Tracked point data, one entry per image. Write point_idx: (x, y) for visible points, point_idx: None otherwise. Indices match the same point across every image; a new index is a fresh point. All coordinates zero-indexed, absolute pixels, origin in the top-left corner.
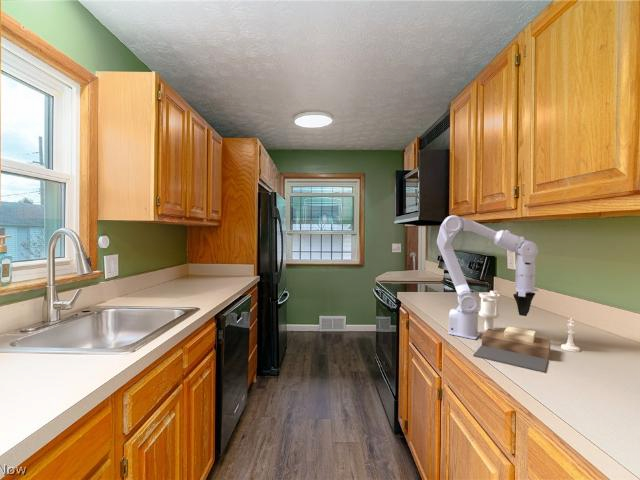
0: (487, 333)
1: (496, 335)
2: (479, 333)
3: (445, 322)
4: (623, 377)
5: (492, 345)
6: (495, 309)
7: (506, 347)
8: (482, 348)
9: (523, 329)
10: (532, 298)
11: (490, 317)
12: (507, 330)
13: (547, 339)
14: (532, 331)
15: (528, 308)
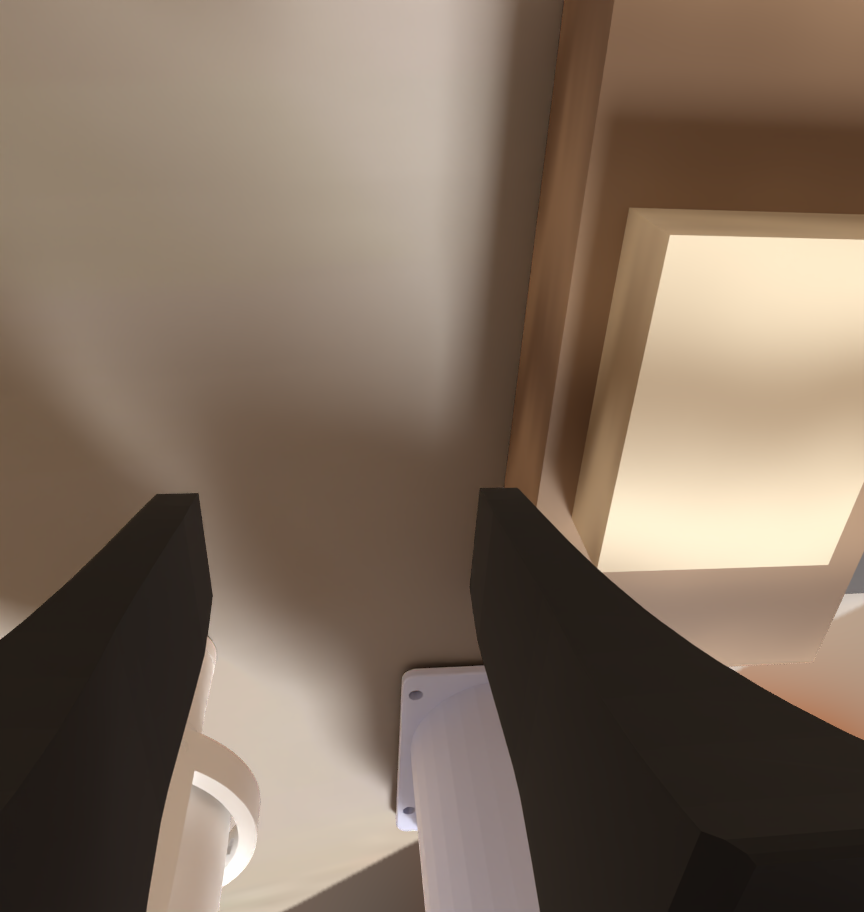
0: (712, 646)
1: (748, 577)
2: (434, 680)
3: (228, 902)
4: None
5: None
6: (175, 860)
7: None
8: (859, 573)
9: (659, 395)
10: (38, 766)
11: (249, 776)
12: (807, 540)
13: (626, 25)
14: (714, 274)
15: (535, 573)
